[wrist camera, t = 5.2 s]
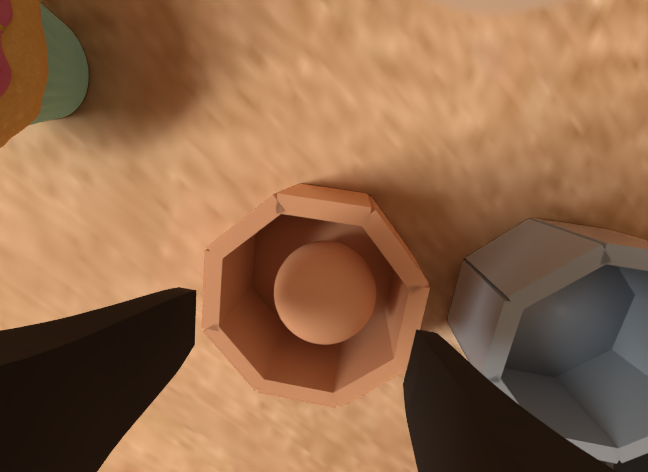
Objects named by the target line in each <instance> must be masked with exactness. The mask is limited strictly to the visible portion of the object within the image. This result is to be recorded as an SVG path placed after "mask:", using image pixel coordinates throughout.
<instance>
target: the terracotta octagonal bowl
mask: <svg viewBox="0 0 648 472" xmlns="http://www.w3.org/2000/svg"><path fill="white" fill-rule="evenodd" d="M316 241H334V242H338V243H342V244H344V245H346V246H349V247H350V248H352V249H354V250H355V251H356V252H357V253H359V254H360V255H361V256H362V257H363V258H364V260H365V261H366V262H367V264H368V265H369V267H370V269H371V271H372V273H373V276H374V279H375V285H376V301H375V306H374V309H373V312H372V314H371V316H370V318H369V320H368V322H367V323H366V324H365V326H364V327H363V328H362V329H361V330H360V331H359V332H358V333H356V334H355V335H354V336H352V337H351V338H349V339H347V340H345V341H342V342H340V343H335V344H325V345H323V344H315V343H311V342H308V341H305V340H303V339H301V338H299V337H298V336H296V335H295V334H294V333H292V332H291V331H290V330H289V329H288V328H287V327H286V325H285V324H284V323H283V321H282V320H281V318H280V316H279V314H278V311H277V309H276V305H275V300H274V285H275V280H276V277H277V273H278V271H279V269H280V267H281V266H282V264H283V263H284V261H285V260H286V259H287V257H288V256H289V255H290V254H291V253H293V252H294V251H295V250H297V249H298V248H300V247H302V246H304V245H306V244H309V243H311V242H316ZM207 248H208V249H207V250H205V259H204V285H203V310H202V328H205V330H204V331H203V332H204V333H205V334H206V335H207V337H208V338H209V339H210V340H211V341H212V342H213V343H214V345H215V346H216V347H217V348H218V349H219V350H220V351H221V353H222V354H223V355H224V356H225V357H226V358H227V360H228V361H229V362H230V363H231V364H232V365H233V366H234V368H235V369H236V370H237V371H238V372H239V373H240V374H241V376H242V377H243V378H244V379H245V380H246V381H247V382H248V384H249V385H250V386H251V387H252V388H253V389H254V390H256V389H258V393H263V394H268V395H273V396H278V397H283V398H288V399H293V400H298V401H303V402H308V403H313V404H318V405H323V406H328V407H333V408H336V405H338V406H339V407H342V406H343V405H345V404H347V403H349V402H351V401H353V400H354V399H356V398H358V397H360V396H362V395H363V394H365V393H367V392H369V391H371V390H373V389H374V388H376V387H378V386H380V385H382V384H384V383H385V382H387V381H389V380H391V379H393V378H395V377H396V376H398V375H400V374H402V373H404V372H406V370H407V366H408V362H409V358H410V354H411V349H412V345H413V341H414V337H415V333H416V329H417V330H420V328H421V323H422V319H423V315H424V311H425V307H426V303H427V299H428V295H429V290H430V287H429V286H428V284H429V283H428V281H427V279H426V278H425V276H424V274H423V272H422V271H421V269H420V267H419V265H418V264H417V262H416V260H415V258H414V256H413V255H412V253H411V251H410V249H409V248H408V247H407V245H406V244H405V242H404V241H403V240H402V238H401V237H400V235H399V234H398V233H397V231H396V230H395V229H394V227H393V226H392V224H391V223H390V222H389V220H388V219H387V217H386V216H385V215H384V213H383V212H382V211H381V209H380V208H379V206H378V205H377V204H376V202H375V201H374V199H373V198H372V197H371V195H370V196H369V197H368V193H361V192H355V191H348V190H341V189H334V188H328V187H321V186H314V185H307V184H301V183H300V184H298V185H295V186H292V187H290V188H287V189H285V190H283V191H280V192H278V193H275V194H273V195H272V196H270V197H269V198H268V199H267V200H265V201H264V202H263V203H262V204H260V205H259V206H258V207H257V208H255V209H254V210H253V211H252V212H250V213H249V214H248V215H246V216H245V217H244V218H243V219H241V220H240V221H239V222H238V223H236V224H235V225H234V226H233V227H231V228H230V229H229V230H227V231H226V232H225V233H224V234H222V235H221V236H220V237H219V238H217V239H216V240H215V241H214V242H212V243H211V244H210V245H209V246H207Z"/></svg>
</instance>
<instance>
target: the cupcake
mask: <svg viewBox="0 0 648 472" xmlns="http://www.w3.org/2000/svg"><path fill="white" fill-rule="evenodd" d="M88 82H89V71H88V64H87V60H86V56H85V53H84V51H83V48H82V46H81V44H80V42H79V41H78V39H77V38H76V36H75V35H74V33H73V32H72V31H71V30H70V29H69V27H68V26H67V25H65V24H64V23H63V22H62V21H61V20H60V19H58V18H57V17H56V16H55V15H54V14H52V13H51V12H50V11H49V10H48V9H47V8H46V7H44V6H43V5H42V4H41V3H40V2H39V0H0V148H1V147H3V146H4V145H5V144H6V143H7V142H8V140H9V139H10V138H12V137H13V136H15V135H16V134H17V133H19V132H20V131H22V130H23V129H24V128H25V127H27V126H28V125H31V124H35V123H39V122H43V121H49V120H54V119H60V118H63V117H66V116H68V115H70V114H71V113H73V112H74V111H75V110H76V109H77V108H78V107H79V106H80V105H81V103H82V102H83V100H84V98H85V95H86V92H87V88H88Z"/></svg>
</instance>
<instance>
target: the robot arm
mask: <svg viewBox="0 0 648 472" xmlns="http://www.w3.org/2000/svg"><path fill="white" fill-rule="evenodd" d="M195 316H196V290H191V289H185V288H180V287H178V288H172V289H168V290H163V291H160V292H156V293H153V294H149V295H146V296H142V297H139V298H135V299H132V300H129V301H125V302H122V303H119V304H115V305H112V306H108V307H104V308H101V309H97V310H93V311H89V312H86V313H82V314H78V315H74V316H71V317H66V318H62V319H58V320H53V321H49V322H44V323H39V324H34V325H29V326H24V327H19V328H14V329H8V330H1V331H0V472H97V471H98V470H99V468H100V467H101V465H102V464H103V463H104V461H105V460H106V458H107V457H108V455H109V454H110V453H111V451H112V450H113V449H114V447H115V446H116V445H117V444H118V442H119V441H120V440H121V439H122V437H123V436H124V435H125V434H126V432H127V431H128V430H129V429H130V428H131V426H132V425H133V424H134V423H135V422H136V421H137V419H138V418H139V417H140V416H141V415H142V413H143V412H144V411H145V410H146V409H147V408H148V406H149V405H150V404H151V403H152V402H153V400H154V399H155V398H156V397H157V396H158V395H159V393H160V392H161V391H162V390H163V389H164V387H165V386H166V385H167V384H168V383H169V381H170V380H171V379H172V378H173V376H174V375H175V374H176V373H177V372H178V370H179V369H180V367H181V366H182V364H183V362H184V361H185V359H186V358H187V356H188V355H189V353H190V351H191V350H192V348H193V346H194V345H195ZM403 389H404V401H405V410H406V418H407V423H408V428H409V432H410V437H411V441H412V446H413V450H414V455H415V459H416V464H417V468H418V472H617V471H615V470H614V469H612V468H611V467H609V466H607V465H606V464H604V463H603V462H601V461H599V460H598V459H596V458H595V457H593V456H592V455H590V454H588V453H587V452H585V451H584V450H582V449H581V448H579V447H578V446H576V445H575V444H573V443H572V442H570V441H569V440H567V439H566V438H564V437H563V436H561V435H560V434H558V433H557V432H556V431H554V430H553V429H551V428H550V427H549V426H547V425H546V424H544V423H543V422H542V421H540V420H539V419H538V418H536V417H535V416H533V415H532V414H531V413H529V412H528V411H527V410H525V409H524V408H523V407H521V406H520V405H519V404H518V403H516V402H515V401H514V400H513V399H511V398H510V397H509V396H508V395H507V394H505V393H504V392H503V391H502V390H500V389H499V388H498V387H497V386H496V385H494V384H493V383H492V382H491V381H490V380H489V379H487V378H486V377H485V376H484V375H483V374H482V373H481V372H480V371H478V370H477V369H476V368H475V367H474V366H473V365H472V364H471V363H470V362H468V361H467V360H466V359H465V358H464V357H463V356H462V355H461V354H460V353H459V352H458V351H456V350H455V349H454V348H453V347H452V346H451V345H450V344H449V343H448V342H447V341H445V340H444V339H443V338H442V337H441V336H440V335H438V334H437V333H434V332H428V331H423V330H417V329H416V333H415V337H414V341H413V345H412V349H411V354H410V358H409V362H408V366H407V370H406V374H405V379H404V383H403Z"/></svg>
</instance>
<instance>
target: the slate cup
mask: <svg viewBox="0 0 648 472" xmlns="http://www.w3.org/2000/svg"><path fill="white" fill-rule="evenodd" d="M465 258H466V260H467V261H464V260H463V261H462V265H461V269H460V273H459V277H458V280H457V284H456V288H455V292H454V295H453V299H452V303H451V307H450V311H449V314H448V318H447V321H448V324H449V326H450V328H451V330H452V332H453V334H454V335H455V337H456V339H457V341H458V343H459V345H460V346H461V348H462V350H463V352H464V354H465V356H466V357H467V359H468V361H469V362H470V363H471V364H472V365H473V366H474V367H475V368H476V369H477V370H478V371H480V372H481V373H482V374H483V375H484V376H485V377H486V378H487V379H489V380H490V381H491V382H492V383H493V384H494V385H496V386H497V387H498V388H499V389H500V390H502V391H503V392H504V393H505V394H507V395H508V396H509V397H510V398H511V399H513V400H514V401H515V402H516V403H518V404H519V405H520V406H521V407H523V408H524V409H525V410H527V411H528V412H529V413H531V414H532V415H533V416H535V417H536V418H538V419H539V420H540V421H542V422H543V423H544V424H546V425H547V426H549V427H550V428H551V429H553V430H554V431H556V432H557V433H558V434H560V435H561V436H563V437H564V438H566V439H567V440H569V441H570V442H572V443H573V444H575V445H576V446H578V447H579V448H581V449H582V450H584V451H585V452H587V453H588V454H590V455H592V456H593V457H595V458H596V459H598V460H601V461H606V462H611V463H616V464H617V463H618V461H620V462H621V463H624V462H626V461H629V460H631V459H634V458H636V457H639V456H641V455H644V454H647V453H648V240H644V239H641V238H637V237H634V236H630V235H627V234H623V233H620V232H616V231H612V230H609V229H604V228H598V227H591V226H584V225H577V224H571V223H564V222H557V221H550V220H544V219H537V218H532V220H531V219H527V220H525V221H524V222H522V223H520V224H519V225H517V226H515V227H514V228H512V229H511V230H509V231H507V232H506V233H504V234H502V235H501V236H499V237H498V238H496V239H494V240H493V241H491V242H489V243H488V244H486V245H485V246H483V247H481V248H480V249H478V250H476V251H475V252H473V253H472V254H470V255H468V256H467V257H465Z"/></svg>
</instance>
